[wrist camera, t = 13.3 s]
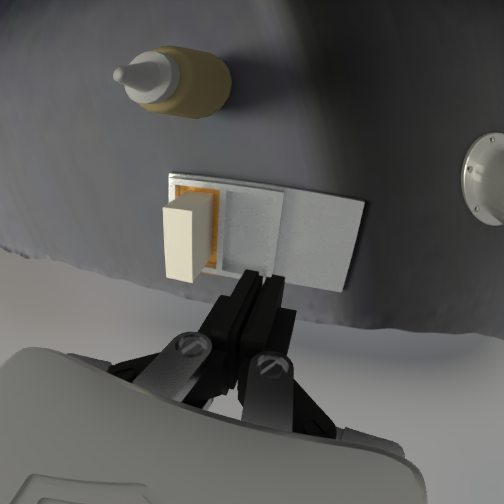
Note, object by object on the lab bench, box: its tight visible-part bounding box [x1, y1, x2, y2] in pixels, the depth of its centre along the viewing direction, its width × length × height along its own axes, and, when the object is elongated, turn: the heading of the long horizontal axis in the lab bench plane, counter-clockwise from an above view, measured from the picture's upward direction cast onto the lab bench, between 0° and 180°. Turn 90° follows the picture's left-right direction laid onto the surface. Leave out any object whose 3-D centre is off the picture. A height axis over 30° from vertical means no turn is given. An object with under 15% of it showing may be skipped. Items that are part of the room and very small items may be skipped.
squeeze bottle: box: [113, 46, 232, 119], centre depth 24 cm, size 8×8×18 cm
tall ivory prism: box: [163, 191, 214, 283], centre depth 36 cm, size 4×9×7 cm, turn 175°
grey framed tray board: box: [169, 172, 365, 292], centre depth 38 cm, size 25×13×2 cm, turn 84°
